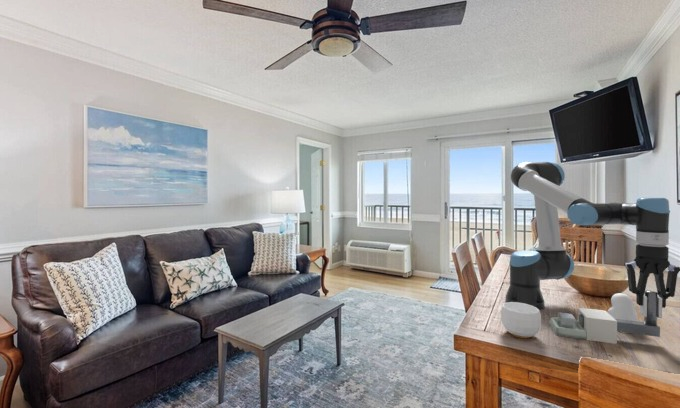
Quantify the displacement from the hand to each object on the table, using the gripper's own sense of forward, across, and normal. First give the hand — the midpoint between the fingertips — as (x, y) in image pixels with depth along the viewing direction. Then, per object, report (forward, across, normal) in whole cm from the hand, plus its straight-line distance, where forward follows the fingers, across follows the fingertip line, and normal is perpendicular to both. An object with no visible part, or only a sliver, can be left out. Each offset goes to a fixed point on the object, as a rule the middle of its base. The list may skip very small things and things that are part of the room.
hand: (650, 315), depth 101 cm
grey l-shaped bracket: (+6, -9, 0) cm, 10 cm away
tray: (+9, -23, 0) cm, 24 cm away
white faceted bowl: (+9, -38, -9) cm, 40 cm away
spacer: (+6, -21, 0) cm, 22 cm away
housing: (+9, -14, 0) cm, 17 cm away
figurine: (+9, -2, +13) cm, 16 cm away
